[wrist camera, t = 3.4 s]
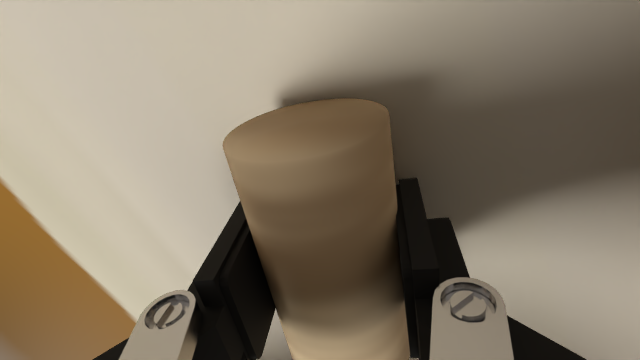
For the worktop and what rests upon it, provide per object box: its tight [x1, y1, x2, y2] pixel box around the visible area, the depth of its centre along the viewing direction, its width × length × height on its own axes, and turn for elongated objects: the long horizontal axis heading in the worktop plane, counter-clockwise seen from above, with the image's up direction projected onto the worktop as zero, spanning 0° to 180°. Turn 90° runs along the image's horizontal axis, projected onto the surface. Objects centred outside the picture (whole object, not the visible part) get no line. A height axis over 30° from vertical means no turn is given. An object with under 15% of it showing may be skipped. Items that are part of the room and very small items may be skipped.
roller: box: [223, 98, 410, 360], centre depth 10 cm, size 8×4×4 cm, turn 10°
